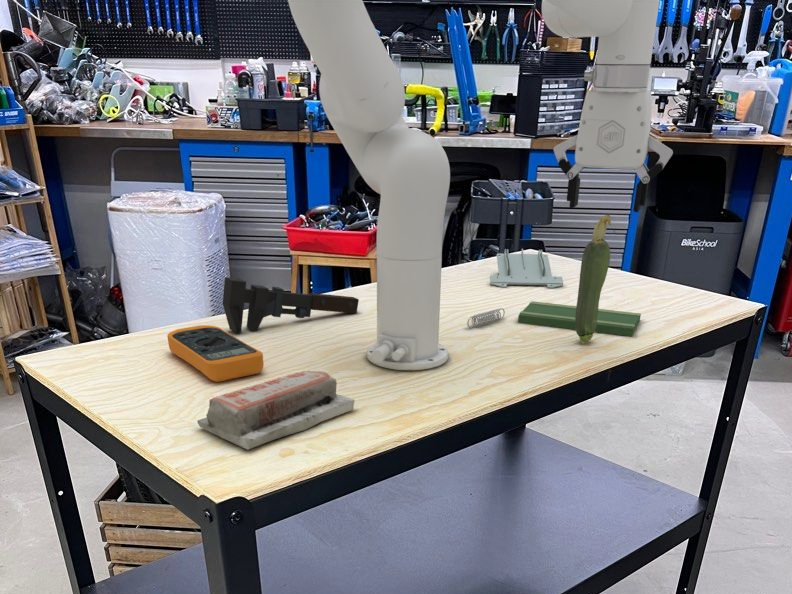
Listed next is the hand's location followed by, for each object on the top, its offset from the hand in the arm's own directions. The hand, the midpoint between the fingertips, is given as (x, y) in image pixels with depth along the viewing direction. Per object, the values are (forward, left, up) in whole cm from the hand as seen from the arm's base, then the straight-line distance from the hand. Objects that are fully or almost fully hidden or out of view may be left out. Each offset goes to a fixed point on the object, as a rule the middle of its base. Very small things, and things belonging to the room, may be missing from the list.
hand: (604, 208), depth 122 cm
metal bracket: (+38, +20, -21) cm, 48 cm away
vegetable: (0, 0, -21) cm, 21 cm away
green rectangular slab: (+11, +3, -21) cm, 24 cm away
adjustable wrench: (-10, +49, -21) cm, 54 cm away
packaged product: (-50, +31, -21) cm, 62 cm away
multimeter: (-34, +50, -21) cm, 64 cm away
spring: (+3, +18, -21) cm, 28 cm away
